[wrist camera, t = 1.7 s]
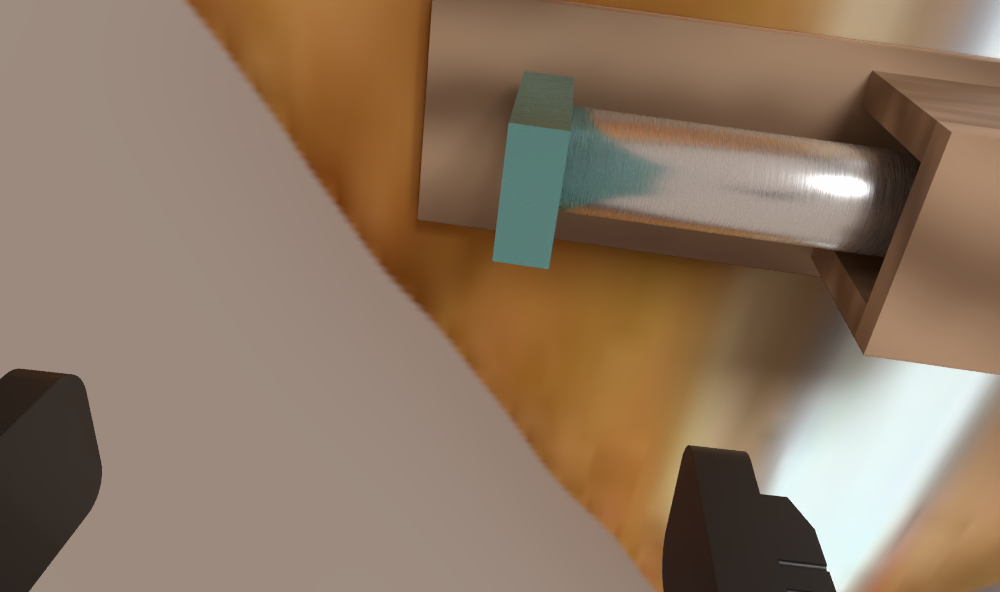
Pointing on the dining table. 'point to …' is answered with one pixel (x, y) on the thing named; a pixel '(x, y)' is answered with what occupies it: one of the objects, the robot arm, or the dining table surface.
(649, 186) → the slip tube
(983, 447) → the dining table surface
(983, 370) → the rail board
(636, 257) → the dining table surface
